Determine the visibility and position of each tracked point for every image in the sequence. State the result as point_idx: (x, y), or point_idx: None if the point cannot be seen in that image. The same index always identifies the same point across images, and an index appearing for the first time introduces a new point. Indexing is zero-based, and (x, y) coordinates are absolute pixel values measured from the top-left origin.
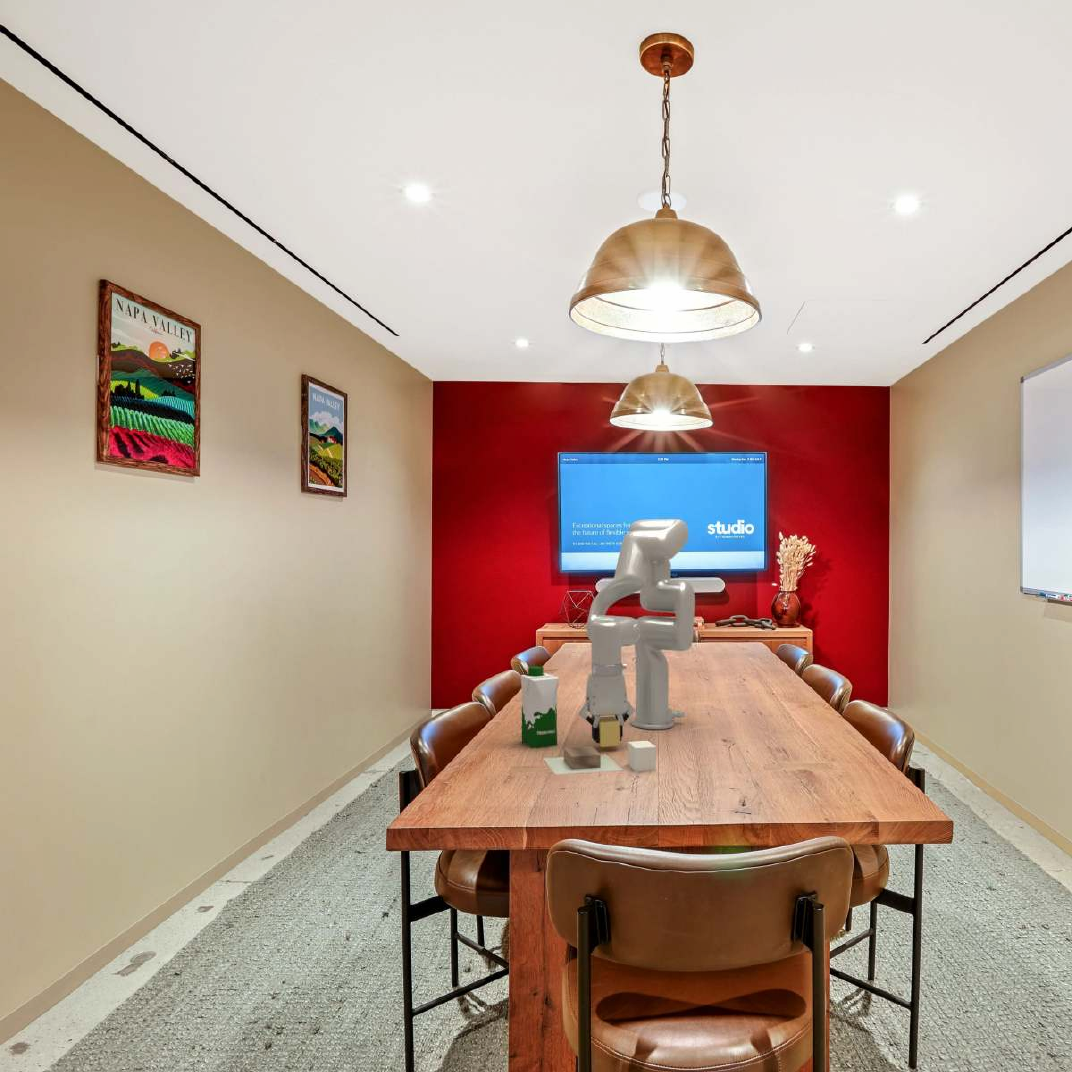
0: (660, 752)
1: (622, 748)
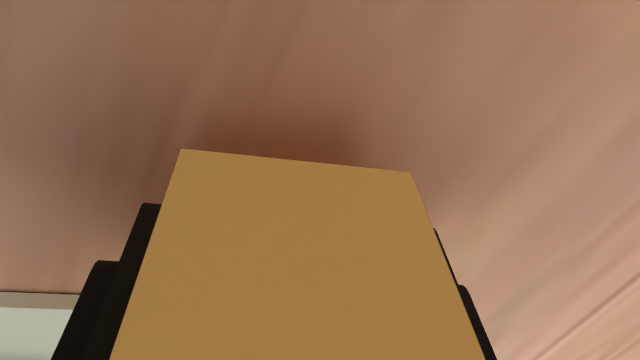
0: (625, 297)
1: (458, 155)
